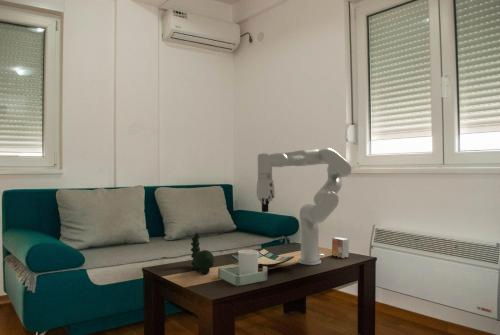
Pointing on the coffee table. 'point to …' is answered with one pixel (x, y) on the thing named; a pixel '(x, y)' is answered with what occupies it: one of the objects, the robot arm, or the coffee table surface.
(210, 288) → the coffee table surface
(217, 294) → the coffee table surface
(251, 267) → the candle holder
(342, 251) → the small box
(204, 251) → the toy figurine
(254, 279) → the tray
